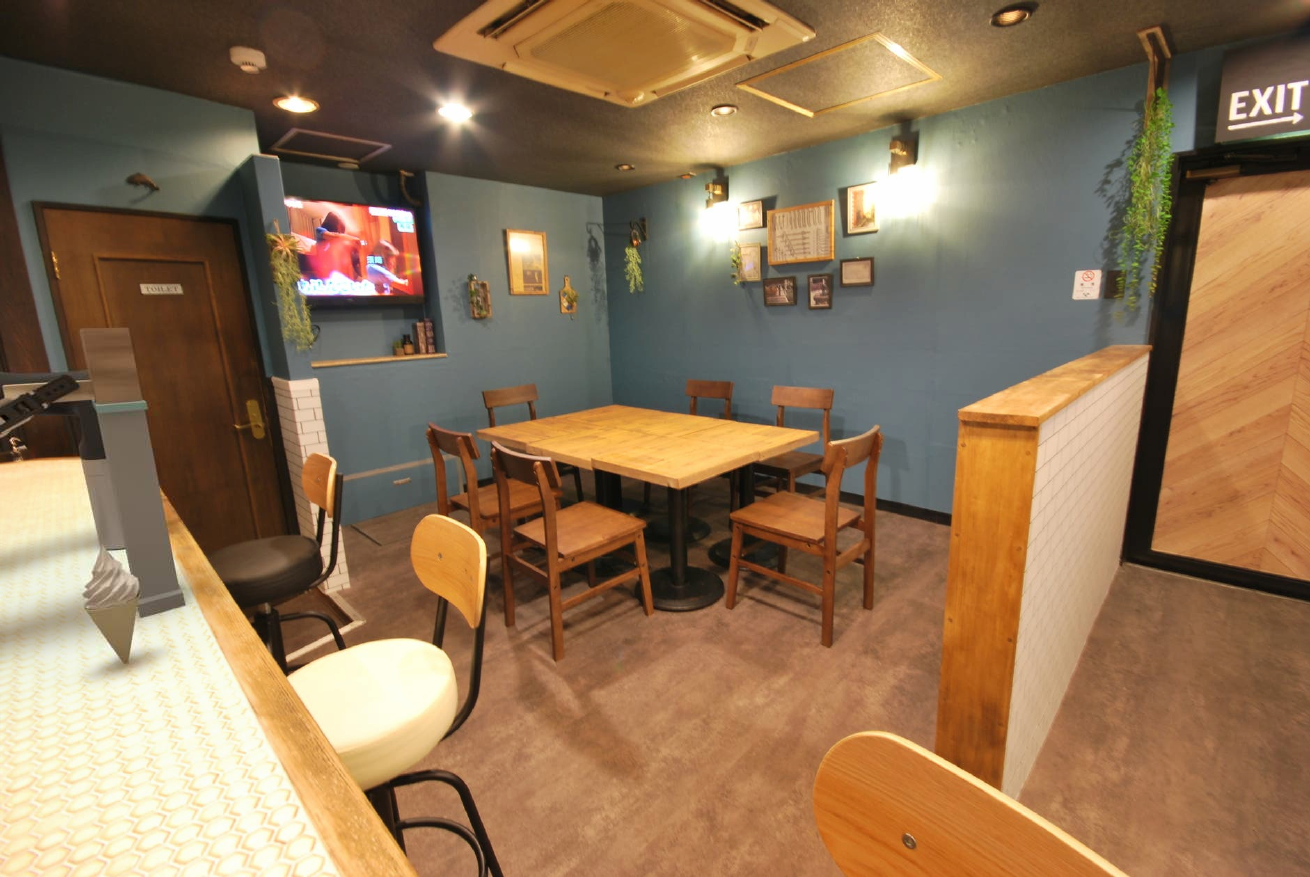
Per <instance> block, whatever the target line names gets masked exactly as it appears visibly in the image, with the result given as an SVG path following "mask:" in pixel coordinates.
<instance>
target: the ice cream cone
mask: <svg viewBox="0 0 1310 877" xmlns="http://www.w3.org/2000/svg"><path fill="white" fill-rule="evenodd" d="M122 564H123V563H122V562H120V561H118V560H117V559H115V557H113V555H112V554H111V553H110V552H109V551H108V549H105V548H104V546H103V545H101V548H99V552H98V554H97V558H96V561H95V563H94V566H93V568H92V571H91V575H92V579H91V580H89V581H88V582H87V583H86V584H85V585H84V586H83V587H84V588H86V590H85V591H84V592H82V593H81V594H82V596H83V598H86V599H87V600H86V601H85V603H84V606H83V607H82V610H84V611H85V612H86V613H87V615H89V617H90V618H91V620H92V622H93V623H94V625H95V626H96V627H97V629H98V630H99V631H100V633H101V634H102V636H103V637H104V639H105V640H106V641H107V642H108V644H109V645H110V647H111V648H112V650H113V651H114V652H115V654H116V655H117V657H118V658H119V660H120V661H121V663H122V664H127V663H129V661H130V654H131V649H132V642H133V636H134V631H135V623H136V616H137V612H138V608H137V605H138V599H139V596H140V593H139V592H137V591H138V590H139V588H140V587H139V582H138V578H136V577H134V575H132V574H131V573H130V572H128V571H126V570H124V569H123V565H122Z"/></svg>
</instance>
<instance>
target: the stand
mask: <svg viewBox="0 0 1310 877" xmlns="http://www.w3.org/2000/svg"><path fill="white" fill-rule="evenodd" d="M92 404H93V407H94V408H95V410H96V412H97V416H98V421H99V426H100V431H101V435H102V440H103V445H104V450H105V454H106V459H107V464H108V469H109V474H110V478H111V483H112V488H113V493H114V497H115V502H116V507H117V512H118V516H119V521H120V526H121V531H122V535H123V540H124V545H125V548H124V549H125V550H124V551H125V553H126V559H127V564H128V568H129V573H130V574H132V575H134V577H136V578H138V582H139V587H140V588H139V590H138V591H137V592H139V593H140V596H139V599H138V605H137V612H138V614H139V617H140V619H141V618H145V617H148V616H152V615H156V614H159V613H163V612H167V611H171V610H175V609H177V608H181V607H184V606H186V600H185V594H184V592H183V589H182V587H181V586H180V584H179V581H178V575H177V570H176V565H175V560H174V554H173V550H172V544H171V540H170V534H169V528H168V525H167V524H168V523H167V519H166V513H165V508H164V503H163V498H162V493H161V488H160V483H159V477H158V472H157V467H156V462H155V461H156V460H155V456H154V451H153V446H152V440H151V437H150V431H149V426H148V425H149V424H148V420H147V416H146V415H147V414H146V411H145V410H148V409H149V408H148V404H147V401H145V400H144V399H143V401H137V402H124V403H112V404H100V405H97V403H96V402H95V400H94V399H92Z"/></svg>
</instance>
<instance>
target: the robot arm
mask: <svg viewBox="0 0 1310 877" xmlns="http://www.w3.org/2000/svg"><path fill="white" fill-rule="evenodd" d="M84 380H90V378H89V374H88V369H79V370H72V371H60V372H59V371H57V372H39V373H19V372H18V373H14V372H4V371H0V439H1V438H4V437H5V436H7V435H8V434H10V432H11V431H12V430H14V429H16V428H18V427H20V426H21V425H23V424H25V423H27V422H29V421H30V420H31V419H33V417H34V416H59V417H60V416H61V417H63V416H64V417H78V418H79V423H80V427H81V434H82V435H81V440H80V442H79V444H78V453H79V458H80V462H81V467H82V470H83V475H84V479H85V485H86V489H87V493H88V498H89V503H90V507H91V511H92V516H93V520H94V525H95V530H96V535H97V539H98V543H99V547H100V548H99V549H101V545H103V546H104V548H105V549H106V550H119V549H125V545H124V540H123V535H122V531H121V526H120V521H119V516H118V512H117V507H116V502H115V497H114V493H113V488H112V483H111V478H110V474H109V469H108V464H107V459H106V454H105V450H104V445H103V440H102V435H101V431H100V426H99V421H98V416H97V412H96V410H95V408H94V407H93V404H92V400H79V401H66V402H54V401H56V400H58V399H60V398H61V397H63V396H65V395H67V394H69V393H71V392H73V391H75V390H77V389H78V388H79V384H78V383H77V382H76V381H84ZM34 383H47V384H45V385H43V386H41V387H39V388H37V389H35V390H36V391H37V393H36V391H35V390H34V389H33V390H31V391H30V390H28V391H26V392H25V394H21V395H20V396H19V397H17V398H5V396H4V392H3V387H2V386H4V385H17V384H34ZM47 401H49V402H50V403H48V402H47ZM19 402H21V403H22V404H23V405H19V404H18V403H19ZM52 402H53V403H52Z"/></svg>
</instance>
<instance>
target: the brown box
mask: <svg viewBox="0 0 1310 877" xmlns="http://www.w3.org/2000/svg"><path fill="white" fill-rule="evenodd" d="M78 331H79V335H80V341H81V345H82V349H83V353H84V359H85V364H86V368H87V369H86V370H88V374H89V378H90V380H84V381H76V382H77V383H78V384H79V388H78V389H77V390H75V391H73V392H71V393H69V394H67V395H65V396H63V397H61V398H60V399H58V400H56V401H54V402H66V401H79V400H92V399H94V400H95V402H96V403H97V405H100V404H112V403H124V402H137V401H143V400H144V399H143V396H142V391H141V385H140V379H139V376H138V375H139V374H138V369H137V364H136V359H135V353H134V348H133V344H132V339H131V333H130V328H129V327H96V328H95V327H92V328H91V327H90V328H89V327H88V328H87V327H86V328H85V327H82V328H80V329H79V330H78ZM45 384H47V383H34V384H17V385H4V386H2V387H3V392H4V396H5V398H17V397H19V396H20V395H21V394H25V392H26V391H28V390H30V391H31V390H33V389H34V390H35V389H37V388H39V387H41V386H43V385H45ZM35 391H36V390H35ZM36 393H37V391H36ZM47 402H48V403H50V402H49V401H47ZM52 403H53V402H52ZM18 404H19V405H23V404H22V403H21V402H19V403H18Z"/></svg>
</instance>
